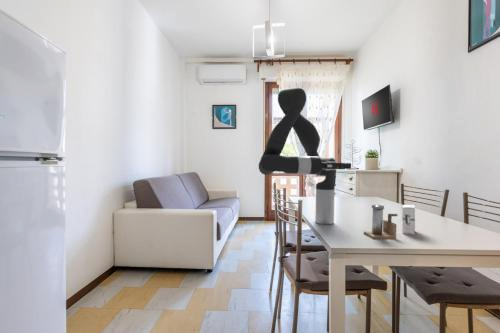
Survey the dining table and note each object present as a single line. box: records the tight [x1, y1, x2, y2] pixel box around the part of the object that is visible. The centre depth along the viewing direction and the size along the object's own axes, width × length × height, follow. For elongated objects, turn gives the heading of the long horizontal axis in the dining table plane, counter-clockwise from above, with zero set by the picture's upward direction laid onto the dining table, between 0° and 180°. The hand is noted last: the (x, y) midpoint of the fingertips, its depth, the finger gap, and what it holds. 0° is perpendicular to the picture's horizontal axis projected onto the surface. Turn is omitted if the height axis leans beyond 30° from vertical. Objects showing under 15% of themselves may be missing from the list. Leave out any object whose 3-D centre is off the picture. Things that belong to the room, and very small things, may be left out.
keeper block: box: [363, 213, 398, 240], centre depth 121 cm, size 8×12×10 cm, turn 94°
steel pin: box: [371, 204, 385, 235], centre depth 121 cm, size 5×5×12 cm
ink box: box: [401, 204, 416, 236], centre depth 129 cm, size 9×5×12 cm, turn 149°
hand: (346, 165), depth 117 cm, fingers open, 8 cm apart
